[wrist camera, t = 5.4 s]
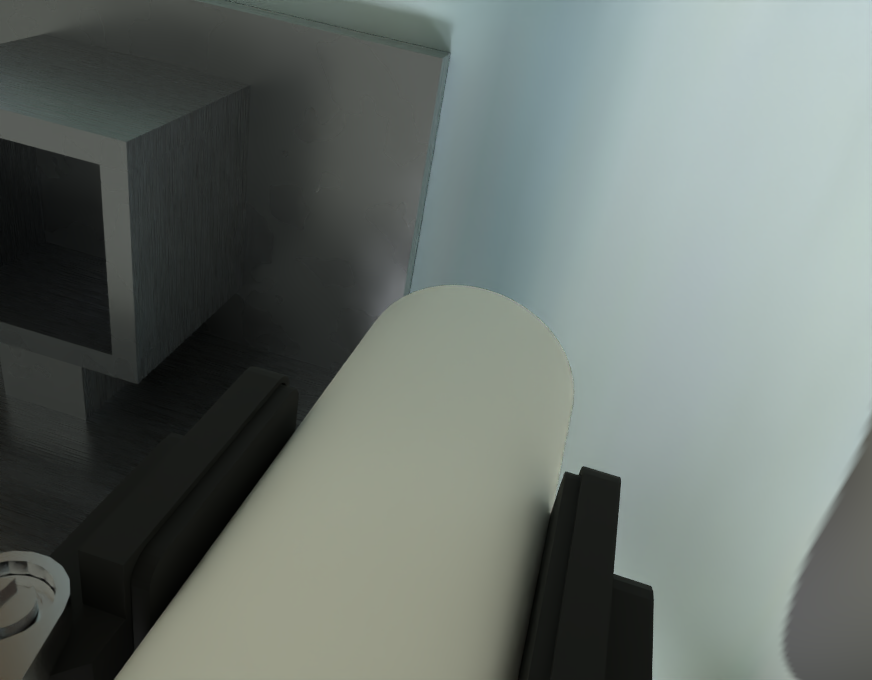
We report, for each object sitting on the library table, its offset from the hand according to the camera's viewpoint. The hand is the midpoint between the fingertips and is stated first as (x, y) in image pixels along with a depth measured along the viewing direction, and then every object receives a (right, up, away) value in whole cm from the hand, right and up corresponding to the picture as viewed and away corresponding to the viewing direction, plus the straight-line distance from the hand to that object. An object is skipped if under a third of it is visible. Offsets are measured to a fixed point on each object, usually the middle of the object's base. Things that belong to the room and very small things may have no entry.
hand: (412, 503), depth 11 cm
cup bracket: (-10, +8, +18) cm, 22 cm away
